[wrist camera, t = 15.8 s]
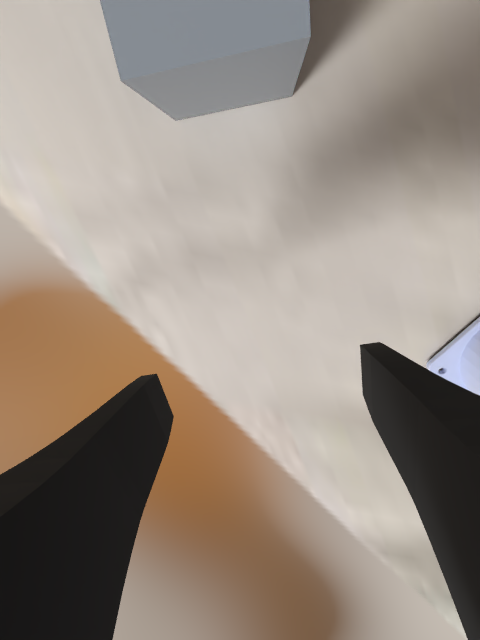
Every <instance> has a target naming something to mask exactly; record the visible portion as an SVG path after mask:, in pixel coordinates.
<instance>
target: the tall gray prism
mask: <svg viewBox="0 0 480 640" xmlns="http://www.w3.org/2000/svg"><path fill="white" fill-rule="evenodd" d="M100 2H101V6H102V10H103V14H104V18H105V22H106V26H107V29H108V33H109V37H110V41H111V45H112V49H113V52H114V56H115V60H116V64H117V68H118V72H119V75H120V79H121V81H122V82H123V83H124V84H126V85H127V86H129V87H130V88H131V89H133V90H134V91H135V92H137V93H138V94H140V95H141V96H142V97H144V98H145V99H146V100H148V101H149V102H151V103H152V104H153V105H155V106H156V107H157V108H159V109H160V110H162V111H163V112H164V113H166V114H167V115H169V116H170V117H171V118H173V119H174V120H175V121H177V120H182V119H186V118H191V117H196V116H201V115H205V114H210V113H215V112H220V111H224V110H229V109H234V108H239V107H243V106H248V105H253V104H258V103H262V102H267V101H272V100H277V99H281V98H286V97H291V96H292V95H293V92H294V88H295V85H296V82H297V79H298V76H299V73H300V69H301V66H302V63H303V60H304V57H305V53H306V50H307V47H308V44H309V41H310V37H311V28H310V5H309V0H100Z"/></svg>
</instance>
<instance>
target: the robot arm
mask: <svg viewBox="0 0 480 640" xmlns="http://www.w3.org/2000/svg"><path fill="white" fill-rule="evenodd" d="M360 350H361V368H362V387H363V396H364V399H365V402H366V404H367V407H368V410H369V413H370V415H371V418H372V420H373V423H374V425H375V427H376V429H377V431H378V433H379V435H380V436H381V438H382V440H383V442H384V444H385V446H386V448H387V450H388V452H389V454H390V456H391V458H392V460H393V461H394V463H395V465H396V467H397V469H398V471H399V473H400V475H401V477H402V479H403V481H404V483H405V485H406V486H407V488H408V491H409V493H410V495H411V497H412V499H413V501H414V503H415V506H416V508H417V510H418V513H419V515H420V518H421V520H422V523H423V525H424V528H425V530H426V532H427V535H428V537H429V540H430V542H431V545H432V547H433V550H434V552H435V555H436V557H437V560H438V563H439V565H440V568H441V570H442V573H443V575H444V578H445V580H446V583H447V585H448V588H449V591H450V593H451V596H452V599H453V601H454V604H455V607H456V609H457V612H458V614H459V617H460V620H461V622H462V625H463V628H464V630H465V633H466V636H467V638H468V640H480V317H479V318H478V319H477V320H475V321H474V322H473V323H472V324H471V325H470V326H468V327H467V328H466V329H465V330H464V331H463V332H462V333H460V334H459V335H458V336H457V337H456V338H455V339H454V340H452V341H451V342H450V343H449V344H448V345H447V346H445V347H444V348H443V349H442V350H441V351H440V352H439V353H437V354H436V355H435V356H434V357H433V358H432V359H431V360H429V361H428V363H427V365H426V366H427V368H428V369H426V368H424V367H422V366H420V365H419V364H417V363H415V362H413V361H412V360H410V359H408V358H406V357H405V356H403V355H401V354H400V353H398V352H396V351H395V350H393V349H391V348H389V347H388V346H386V345H384V344H382V343H380V342H377V343H370V344H363V345H360ZM441 368H443V369H442V370H440V371H439V369H441ZM172 422H173V414H172V411H171V409H170V406H169V404H168V401H167V399H166V396H165V394H164V391H163V389H162V386H161V384H160V381H159V378H158V376H157V374H152V375H145V376H141V377H139V378H138V379H136V380H135V381H133V382H132V383H130V384H129V385H128V386H126V387H125V388H124V389H123V390H121V391H120V392H119V393H118V394H116V395H115V396H114V397H113V398H111V399H110V400H109V401H107V402H106V403H105V404H104V405H102V406H101V407H100V408H99V409H97V410H96V411H95V412H94V413H92V414H91V415H90V416H88V417H87V418H85V419H84V420H83V421H81V422H80V423H79V424H77V425H76V426H75V427H73V428H72V429H71V430H69V431H68V432H67V433H65V434H64V435H63V436H61V437H60V438H58V439H57V440H55V441H54V442H53V443H51V444H50V445H48V446H46V447H45V448H43V449H42V450H40V451H39V452H37V453H36V454H34V455H33V456H31V457H29V458H28V459H26V460H25V461H23V462H21V463H20V464H18V465H16V466H14V467H13V468H11V469H9V470H8V471H6V472H4V473H2V474H1V475H0V640H112V639H113V634H114V629H115V624H116V620H117V615H118V610H119V605H120V601H121V596H122V591H123V587H124V583H125V578H126V574H127V570H128V566H129V562H130V557H131V553H132V549H133V546H134V542H135V538H136V535H137V531H138V527H139V523H140V520H141V517H142V513H143V510H144V507H145V504H146V502H147V499H148V496H149V494H150V491H151V488H152V485H153V482H154V480H155V477H156V474H157V472H158V469H159V466H160V463H161V461H162V458H163V455H164V453H165V450H166V447H167V444H168V440H169V436H170V432H171V427H172Z"/></svg>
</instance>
